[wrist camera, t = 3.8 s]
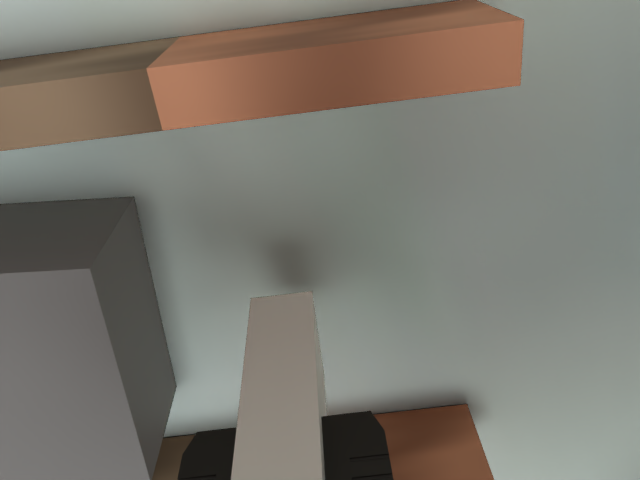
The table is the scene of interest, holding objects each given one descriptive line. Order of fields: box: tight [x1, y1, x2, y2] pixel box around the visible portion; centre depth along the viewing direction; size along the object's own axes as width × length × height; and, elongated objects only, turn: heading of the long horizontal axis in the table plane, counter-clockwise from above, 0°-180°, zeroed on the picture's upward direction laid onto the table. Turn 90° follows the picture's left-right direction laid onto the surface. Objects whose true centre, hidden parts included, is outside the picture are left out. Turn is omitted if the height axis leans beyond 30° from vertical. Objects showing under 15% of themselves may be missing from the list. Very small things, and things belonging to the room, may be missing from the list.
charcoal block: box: [0, 197, 176, 480], centre depth 16 cm, size 7×7×4 cm
